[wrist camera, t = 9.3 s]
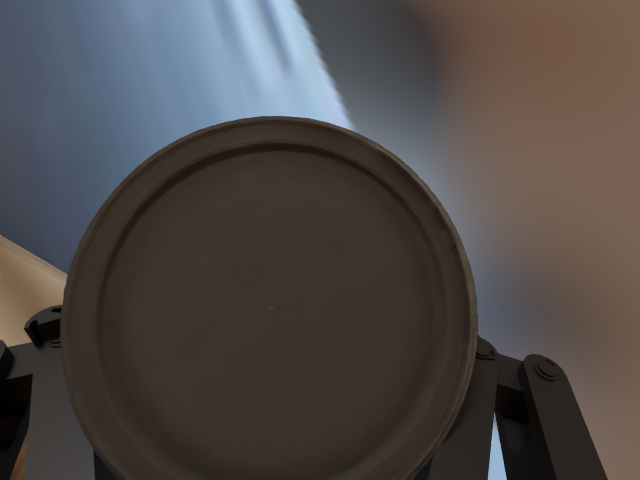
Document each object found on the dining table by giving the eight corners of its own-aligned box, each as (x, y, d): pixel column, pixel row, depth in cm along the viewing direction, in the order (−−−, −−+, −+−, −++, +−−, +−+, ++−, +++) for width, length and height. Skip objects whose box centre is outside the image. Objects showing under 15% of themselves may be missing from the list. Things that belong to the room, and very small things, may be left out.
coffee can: (295, 417, 21) (299, 660, 7) (175, 309, 21) (-45, 332, 7) (395, 291, 23) (556, 284, 9) (282, 194, 23) (265, 42, 9)
